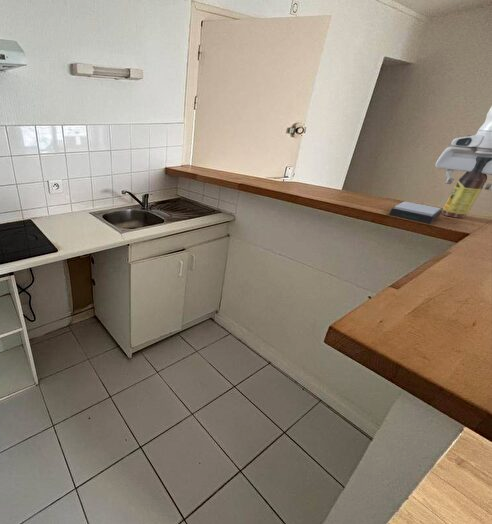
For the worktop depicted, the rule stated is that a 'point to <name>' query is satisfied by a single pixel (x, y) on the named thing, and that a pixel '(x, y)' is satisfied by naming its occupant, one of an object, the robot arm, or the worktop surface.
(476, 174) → the sauce bottle
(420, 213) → the kitchen scale
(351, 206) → the worktop surface
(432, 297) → the worktop surface
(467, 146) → the robot arm
